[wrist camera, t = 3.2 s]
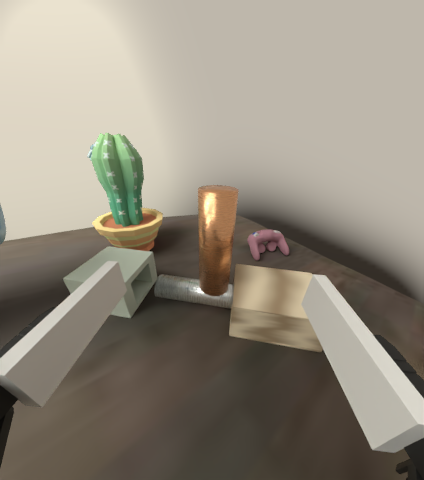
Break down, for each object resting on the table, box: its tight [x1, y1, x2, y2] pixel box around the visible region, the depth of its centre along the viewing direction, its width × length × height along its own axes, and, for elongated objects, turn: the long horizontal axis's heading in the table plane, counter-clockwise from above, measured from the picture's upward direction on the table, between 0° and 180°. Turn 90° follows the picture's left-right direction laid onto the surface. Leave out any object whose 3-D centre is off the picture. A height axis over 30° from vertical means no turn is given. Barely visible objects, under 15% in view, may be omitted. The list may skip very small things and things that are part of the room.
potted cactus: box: [87, 133, 162, 251], centre depth 37 cm, size 15×15×25 cm
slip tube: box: [154, 185, 238, 309], centre depth 22 cm, size 22×4×18 cm, turn 80°
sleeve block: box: [229, 264, 323, 352], centre depth 25 cm, size 12×9×6 cm
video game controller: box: [248, 230, 289, 261], centre depth 41 cm, size 10×5×7 cm, turn 107°
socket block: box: [63, 246, 157, 318], centre depth 28 cm, size 9×9×6 cm
